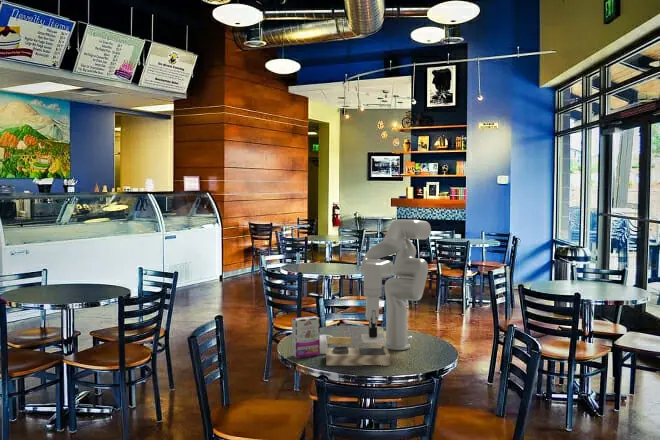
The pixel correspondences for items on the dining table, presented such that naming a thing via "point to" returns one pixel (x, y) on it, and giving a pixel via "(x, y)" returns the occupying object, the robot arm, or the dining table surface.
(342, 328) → the dining table surface
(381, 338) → the cover
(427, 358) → the dining table surface
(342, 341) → the t key
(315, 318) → the candy bar box
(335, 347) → the beige flat block
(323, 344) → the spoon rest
